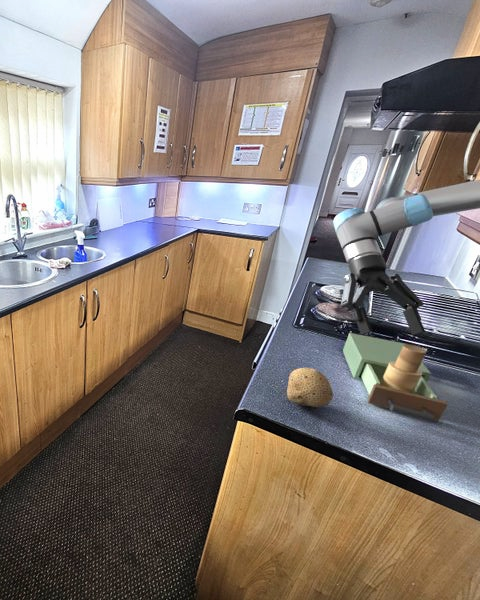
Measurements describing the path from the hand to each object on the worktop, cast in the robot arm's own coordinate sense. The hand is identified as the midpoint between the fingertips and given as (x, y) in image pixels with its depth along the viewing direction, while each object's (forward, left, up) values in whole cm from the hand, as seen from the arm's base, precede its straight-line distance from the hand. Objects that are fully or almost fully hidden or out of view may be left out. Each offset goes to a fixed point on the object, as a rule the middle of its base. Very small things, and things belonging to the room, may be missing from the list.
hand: (392, 333), depth 82 cm
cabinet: (-3, -8, -15) cm, 18 cm away
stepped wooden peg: (-3, +5, -13) cm, 15 cm away
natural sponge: (+17, +20, -16) cm, 30 cm away
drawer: (-3, +7, -14) cm, 16 cm away
